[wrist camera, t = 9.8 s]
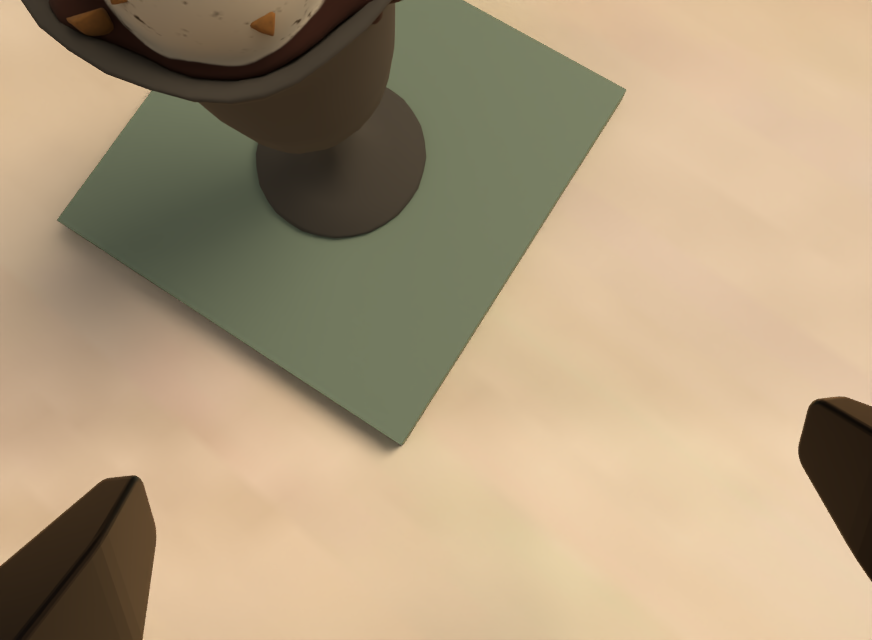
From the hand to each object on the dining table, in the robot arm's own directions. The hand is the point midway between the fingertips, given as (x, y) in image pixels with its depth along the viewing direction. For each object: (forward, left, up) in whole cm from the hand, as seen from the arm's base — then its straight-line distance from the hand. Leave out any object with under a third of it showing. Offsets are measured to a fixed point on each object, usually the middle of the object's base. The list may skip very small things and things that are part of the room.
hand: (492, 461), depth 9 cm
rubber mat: (+5, +8, -10) cm, 14 cm away
